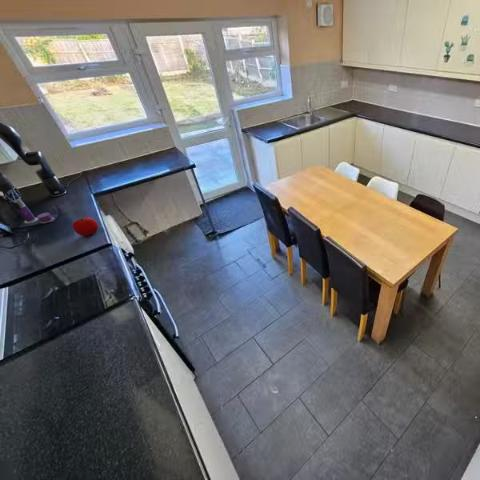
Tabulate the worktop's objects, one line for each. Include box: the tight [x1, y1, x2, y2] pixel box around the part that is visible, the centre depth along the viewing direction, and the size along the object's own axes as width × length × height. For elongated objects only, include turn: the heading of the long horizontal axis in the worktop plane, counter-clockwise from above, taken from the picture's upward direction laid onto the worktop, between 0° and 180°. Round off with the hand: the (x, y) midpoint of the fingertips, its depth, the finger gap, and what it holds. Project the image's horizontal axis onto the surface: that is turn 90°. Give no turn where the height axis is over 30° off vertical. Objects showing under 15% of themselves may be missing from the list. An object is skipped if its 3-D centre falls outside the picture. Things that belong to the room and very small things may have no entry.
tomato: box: [72, 216, 99, 237], centre depth 165 cm, size 12×12×11 cm
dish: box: [37, 212, 53, 224], centre depth 180 cm, size 6×6×4 cm
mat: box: [17, 213, 60, 229], centre depth 181 cm, size 11×19×1 cm, turn 112°
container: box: [12, 198, 36, 222], centre depth 176 cm, size 5×5×15 cm
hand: (20, 206), depth 174 cm, fingers closed on container, 4 cm apart
